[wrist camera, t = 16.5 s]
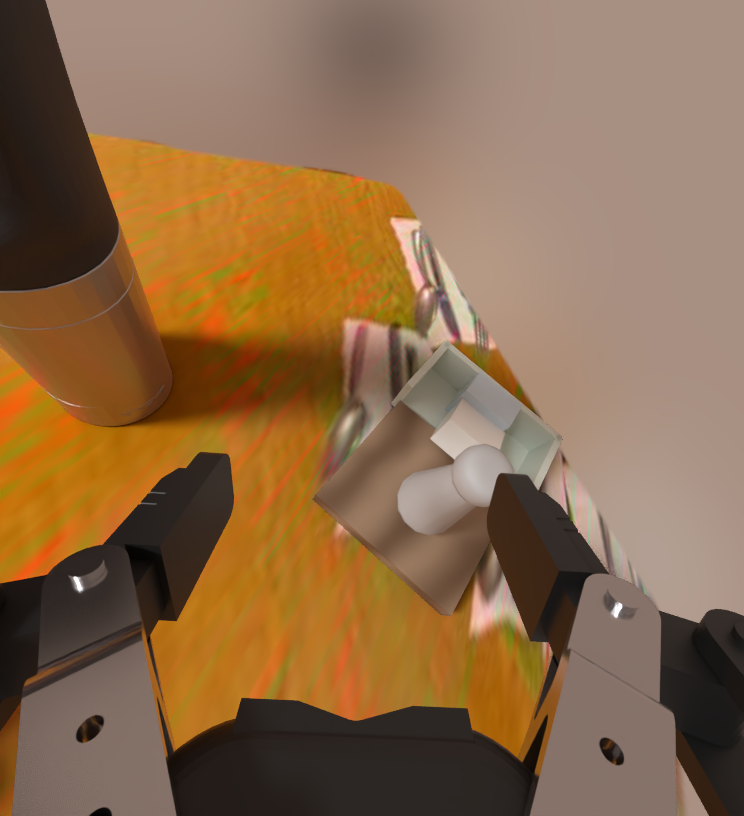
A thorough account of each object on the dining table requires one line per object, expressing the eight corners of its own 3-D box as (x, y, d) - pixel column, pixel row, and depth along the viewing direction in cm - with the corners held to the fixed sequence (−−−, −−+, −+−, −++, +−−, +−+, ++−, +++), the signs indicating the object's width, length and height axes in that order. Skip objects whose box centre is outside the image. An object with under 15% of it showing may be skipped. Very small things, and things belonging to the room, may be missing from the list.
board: (312, 499, 35) (316, 494, 33) (394, 407, 42) (400, 399, 40) (440, 614, 34) (451, 616, 32) (502, 500, 41) (513, 496, 39)
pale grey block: (466, 390, 39) (480, 371, 41) (444, 409, 43) (458, 391, 45) (510, 426, 39) (522, 405, 40) (483, 442, 43) (496, 423, 45)
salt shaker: (435, 473, 38) (513, 426, 26) (451, 531, 35) (545, 505, 24) (383, 482, 35) (444, 434, 24) (397, 543, 33) (471, 521, 22)
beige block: (429, 438, 38) (450, 418, 36) (443, 416, 42) (462, 397, 40) (473, 476, 38) (497, 458, 36) (483, 450, 42) (505, 433, 40)
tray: (390, 403, 42) (406, 382, 38) (427, 362, 46) (446, 339, 42) (506, 503, 41) (536, 493, 37) (533, 451, 45) (563, 437, 41)
